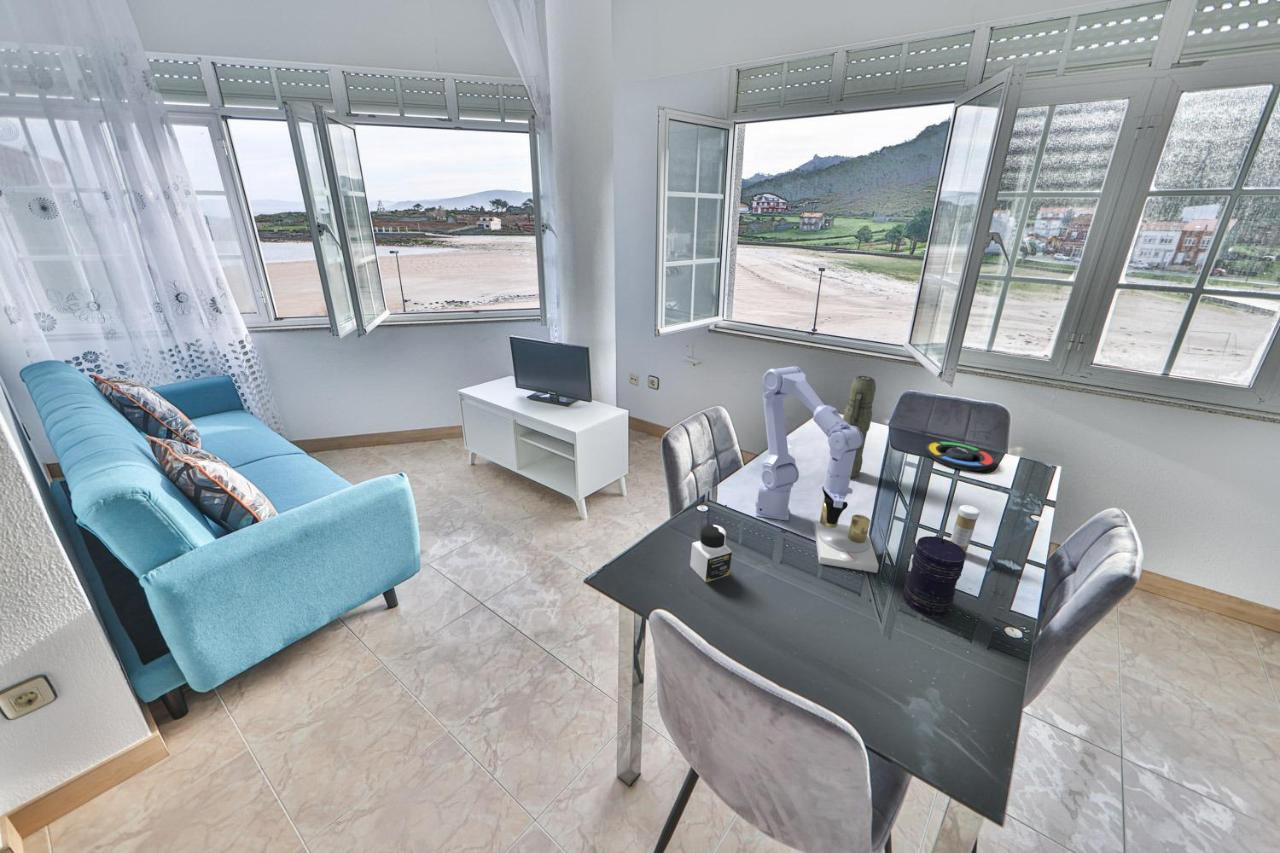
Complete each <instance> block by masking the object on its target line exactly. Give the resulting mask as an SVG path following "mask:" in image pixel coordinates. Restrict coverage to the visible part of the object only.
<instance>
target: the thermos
mask: <svg viewBox="0 0 1280 853" xmlns="http://www.w3.org/2000/svg"><path fill="white" fill-rule="evenodd" d="M876 385H877V384H876V379H874V378H873V377H871V376H867V375H859V376H855V378H854V379H853V381H852V383H851V386H850V391H849V396H848V399H849V400H848V402H847V406H846V407H845V409H844V411H843V416H842V418H843V419H844V421H845V422H847V423H848V424H850V425H851V426H855V427H857V428H859V430H860V431H861V433H862V435H863V443H862V445H861V446H860V447H859V448H857V449H854V450H856V454H855V458H854V463H853V468H852V473H851V477H850V480H852V479H851V478H855V479H858V478H859V477H860V471H861V470H862V466H863V454H864V449H865V444H866V439H867V434H868V432H869V430H870V427H871V424H872V418H873V410H872V408H873V402H874V397H875V394H876V390H877V386H876ZM858 476H859V477H858ZM857 477H858V478H857Z"/></svg>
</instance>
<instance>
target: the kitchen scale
mask: <svg viewBox="0 0 1280 853" xmlns="http://www.w3.org/2000/svg"><path fill="white" fill-rule="evenodd" d="M849 529H850V525H847V524H843V523H838V525H837V527H835V528H829V527H825V526H823V525H822V524H821V523H820V521H817V520H815V521H814V524H813V530H814V531H813V532H814V537H815V538H814V539H815V543H816V550H817V557H818V564H821V565H827V566H833V567H838V568H839V567H840V568H846V569H851V570H858V571H862V570H863V572H868V573H875V574H877V573H878V571H879V567H880V565H879V563H878V560H877V557H876V556H877V555H876V554H875V550H874V547H873V545H872V541H871V537H870V534H869V532H868V533H867V538H866V541H865V542H864V543H856V542H853V541H851V540H850V539H849V538H848V534H849Z"/></svg>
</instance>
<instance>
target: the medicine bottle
mask: <svg viewBox="0 0 1280 853" xmlns="http://www.w3.org/2000/svg"><path fill="white" fill-rule="evenodd" d="M699 537H700V538H699V540H698V541H694V542H692V543H691V550H690V551H691V553H690V562H689V564H690V565H689V568H691V569H692V570H693V571H694V572H695V573H696V575H698V576H699V577H700V578H701V579H702V580H703V582H705V583H709V582H711V581H714V580H717V579H721V578H724V577H727V576H729V575H730V572H731V571H730V570H731V562H732V555H733V551H732V550H731V549H730V548H729V547H728V546H727V545H726V539H727V531H726V530H725V529H724V528H723V526H720V525H717V524H707V525H704V526H703V527H702V528H701V529H700V536H699Z"/></svg>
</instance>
